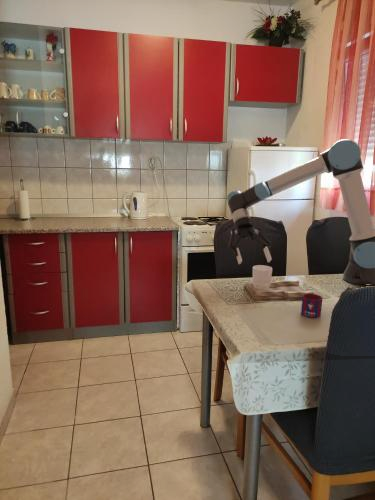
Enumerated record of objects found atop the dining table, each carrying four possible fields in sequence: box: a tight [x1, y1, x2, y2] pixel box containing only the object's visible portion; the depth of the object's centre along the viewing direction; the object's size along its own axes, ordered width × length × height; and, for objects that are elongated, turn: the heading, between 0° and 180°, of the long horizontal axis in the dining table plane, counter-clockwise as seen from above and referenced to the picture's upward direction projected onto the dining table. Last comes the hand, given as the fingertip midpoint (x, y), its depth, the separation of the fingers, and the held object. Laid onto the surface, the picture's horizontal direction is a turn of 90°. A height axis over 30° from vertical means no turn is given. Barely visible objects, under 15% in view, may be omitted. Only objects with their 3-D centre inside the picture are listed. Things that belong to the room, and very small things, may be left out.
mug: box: [300, 292, 323, 319], centre depth 130 cm, size 7×10×7 cm
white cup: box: [252, 264, 273, 291], centre depth 150 cm, size 8×8×10 cm
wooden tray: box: [243, 279, 314, 301], centre depth 152 cm, size 24×17×3 cm
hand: (255, 261), depth 154 cm, fingers open, 13 cm apart
